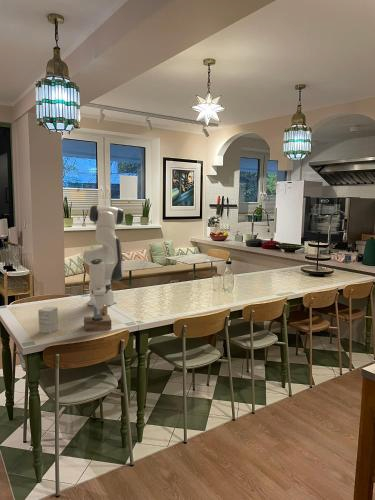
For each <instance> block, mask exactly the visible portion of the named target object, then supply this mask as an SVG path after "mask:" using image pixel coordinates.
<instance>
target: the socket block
mask: <svg viewBox="0 0 375 500" xmlns="http://www.w3.org/2000/svg"><path fill="white" fill-rule="evenodd" d="M83 327H84V330H85V332H95V331H104V330H105V331H106V330H112V319H111V317H110V315H109V314H107V315H104V316H102V320H96V321H94V315H93V316H84V317H83Z"/></svg>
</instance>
